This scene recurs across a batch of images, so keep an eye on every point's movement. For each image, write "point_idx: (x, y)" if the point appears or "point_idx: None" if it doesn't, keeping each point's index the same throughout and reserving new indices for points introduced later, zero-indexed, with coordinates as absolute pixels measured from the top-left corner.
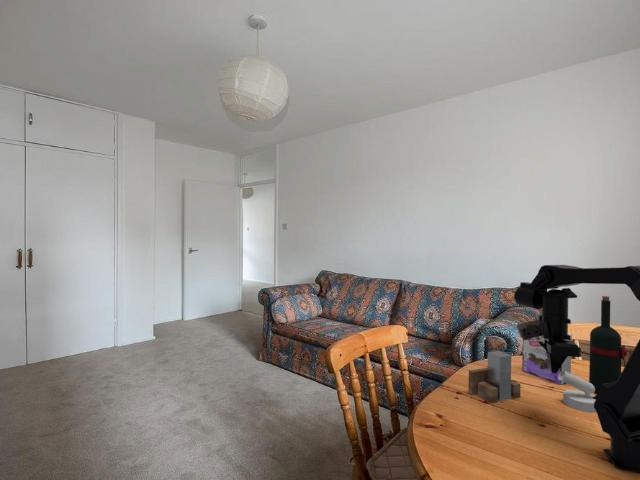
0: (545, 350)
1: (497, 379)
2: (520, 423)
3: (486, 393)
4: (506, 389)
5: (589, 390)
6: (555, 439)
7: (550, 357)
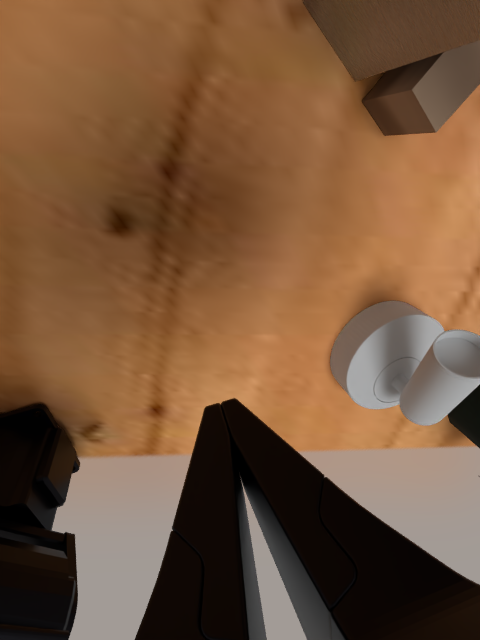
0: (437, 572)
1: None
2: (67, 119)
3: None
4: (369, 34)
5: (402, 406)
6: (11, 271)
7: (140, 627)
